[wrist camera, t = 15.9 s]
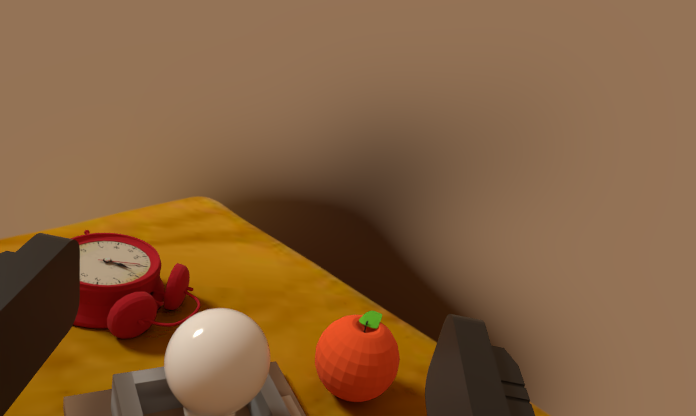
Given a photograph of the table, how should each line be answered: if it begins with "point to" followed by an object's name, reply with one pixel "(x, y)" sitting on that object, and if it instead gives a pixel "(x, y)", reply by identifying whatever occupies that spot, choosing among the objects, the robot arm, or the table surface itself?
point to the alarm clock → (125, 285)
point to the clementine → (357, 357)
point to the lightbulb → (216, 362)
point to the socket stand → (162, 406)
